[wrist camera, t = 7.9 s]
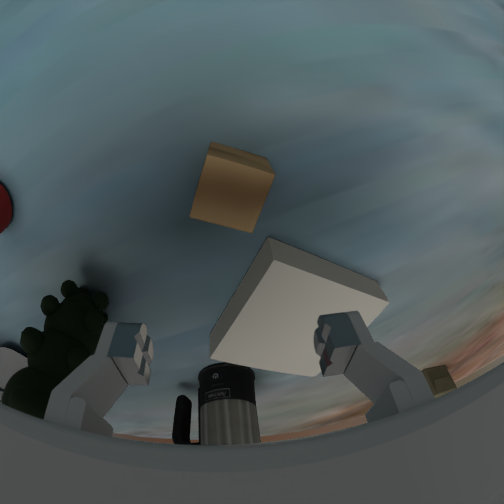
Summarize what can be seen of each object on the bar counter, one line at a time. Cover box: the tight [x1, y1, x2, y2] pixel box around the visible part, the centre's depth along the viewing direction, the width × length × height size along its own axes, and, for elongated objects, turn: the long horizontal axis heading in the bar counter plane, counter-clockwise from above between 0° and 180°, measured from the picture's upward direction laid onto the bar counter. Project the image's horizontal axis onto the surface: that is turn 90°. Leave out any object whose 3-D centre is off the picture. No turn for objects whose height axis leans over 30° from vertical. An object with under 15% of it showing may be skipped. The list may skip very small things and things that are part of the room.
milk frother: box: [172, 363, 261, 445], centre depth 38 cm, size 14×16×15 cm
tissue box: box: [422, 365, 456, 398], centre depth 50 cm, size 19×10×16 cm, turn 166°
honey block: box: [189, 142, 275, 233], centre depth 22 cm, size 5×5×5 cm
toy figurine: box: [2, 280, 109, 420], centre depth 21 cm, size 9×19×25 cm, turn 155°
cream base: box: [210, 237, 390, 377], centre depth 32 cm, size 16×16×4 cm
